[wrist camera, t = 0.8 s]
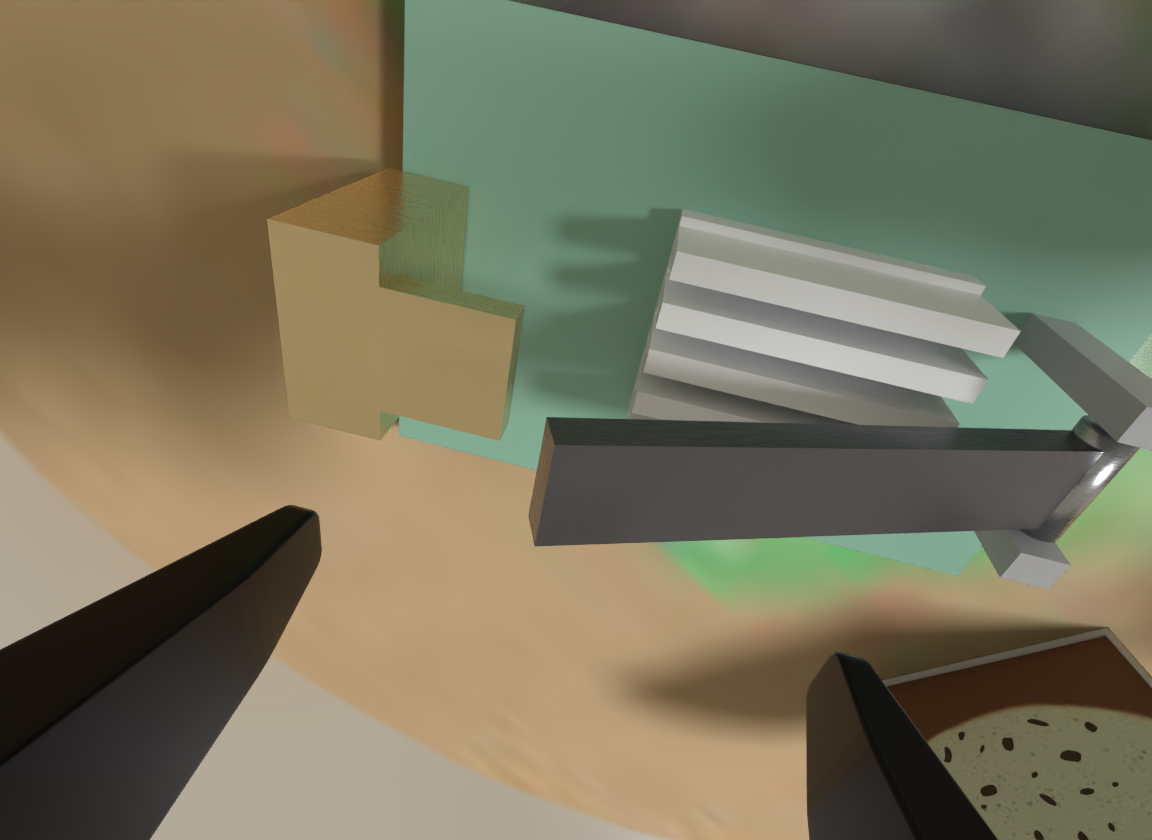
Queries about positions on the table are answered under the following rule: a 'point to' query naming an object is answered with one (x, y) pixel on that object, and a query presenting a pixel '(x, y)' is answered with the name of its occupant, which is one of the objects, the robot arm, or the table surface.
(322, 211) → the block
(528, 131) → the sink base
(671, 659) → the table surface
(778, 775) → the table surface
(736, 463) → the dark grey flat bar
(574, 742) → the table surface
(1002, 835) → the food container
